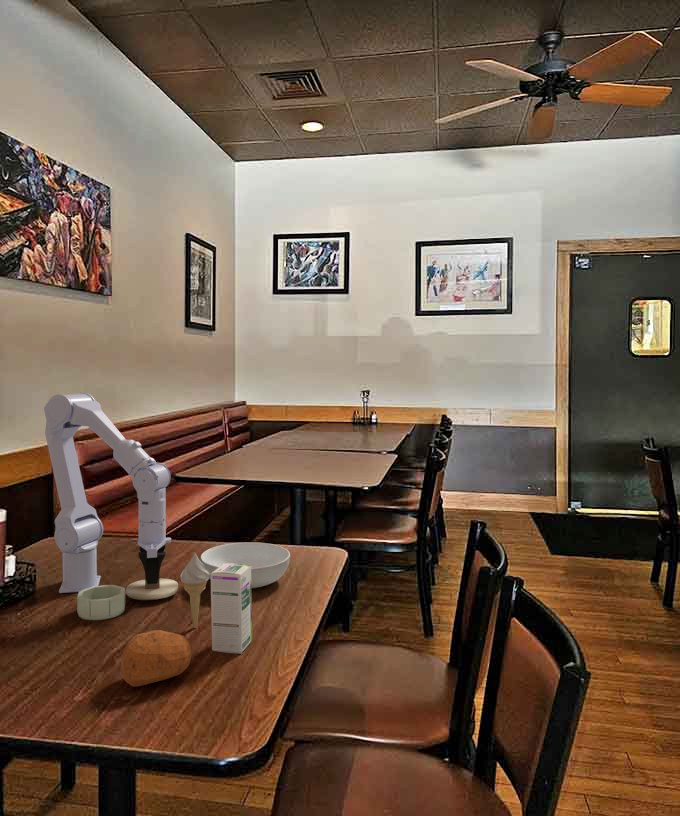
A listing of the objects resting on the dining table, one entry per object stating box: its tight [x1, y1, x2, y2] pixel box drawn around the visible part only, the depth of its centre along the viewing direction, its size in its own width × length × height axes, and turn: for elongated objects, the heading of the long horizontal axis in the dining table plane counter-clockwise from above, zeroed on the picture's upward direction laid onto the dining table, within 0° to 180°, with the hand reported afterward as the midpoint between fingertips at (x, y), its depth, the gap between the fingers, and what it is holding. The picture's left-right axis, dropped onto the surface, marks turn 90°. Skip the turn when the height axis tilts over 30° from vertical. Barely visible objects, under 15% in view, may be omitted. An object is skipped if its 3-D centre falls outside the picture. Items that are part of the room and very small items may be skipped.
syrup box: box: [210, 563, 253, 655], centre depth 117 cm, size 6×6×14 cm
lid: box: [125, 571, 179, 601], centre depth 142 cm, size 11×11×5 cm
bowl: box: [76, 584, 126, 621], centre depth 132 cm, size 9×9×4 cm
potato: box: [120, 629, 193, 687], centre depth 105 cm, size 9×11×8 cm
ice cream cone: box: [179, 551, 210, 629], centre depth 125 cm, size 6×6×15 cm
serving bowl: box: [199, 541, 291, 589], centre depth 151 cm, size 21×21×7 cm
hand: (152, 580), depth 142 cm, fingers closed on lid, 3 cm apart
